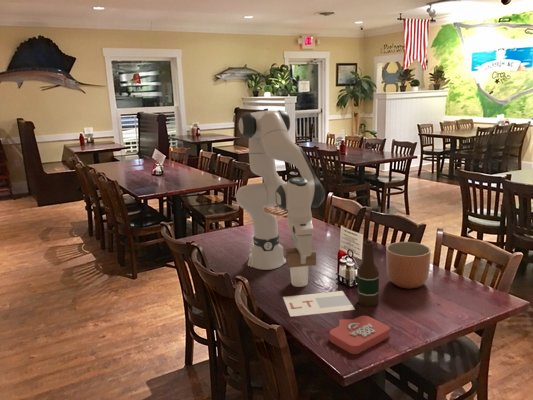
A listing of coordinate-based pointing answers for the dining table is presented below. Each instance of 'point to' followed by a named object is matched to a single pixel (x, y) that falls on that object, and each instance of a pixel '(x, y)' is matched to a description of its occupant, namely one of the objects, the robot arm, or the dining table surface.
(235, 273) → the dining table surface
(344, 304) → the board
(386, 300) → the dining table surface
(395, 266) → the planter
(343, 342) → the plaque
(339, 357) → the dining table surface
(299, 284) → the white cup
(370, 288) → the beer bottle
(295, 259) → the walnut bar
